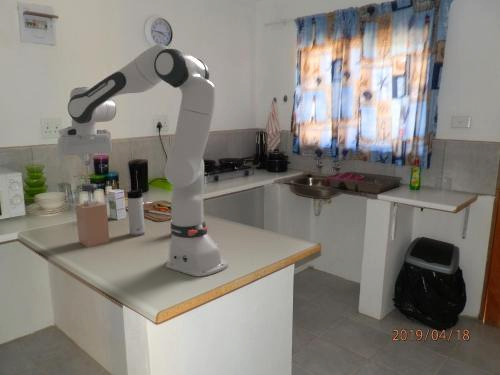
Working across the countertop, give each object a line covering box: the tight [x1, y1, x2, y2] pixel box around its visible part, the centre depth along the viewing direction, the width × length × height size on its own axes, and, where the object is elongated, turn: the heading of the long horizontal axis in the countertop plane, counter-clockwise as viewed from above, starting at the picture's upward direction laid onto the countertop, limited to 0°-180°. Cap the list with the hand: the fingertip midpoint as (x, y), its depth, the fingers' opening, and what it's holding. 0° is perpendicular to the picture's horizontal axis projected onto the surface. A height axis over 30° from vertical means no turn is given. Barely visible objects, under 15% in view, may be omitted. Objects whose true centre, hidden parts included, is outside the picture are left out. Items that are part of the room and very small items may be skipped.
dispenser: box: [75, 198, 111, 248], centre depth 157 cm, size 9×9×18 cm
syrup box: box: [107, 188, 127, 221], centre depth 195 cm, size 6×6×14 cm
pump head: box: [81, 183, 98, 202], centre depth 157 cm, size 9×6×12 cm, turn 44°
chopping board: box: [125, 200, 172, 223], centre depth 210 cm, size 45×27×3 cm, turn 44°
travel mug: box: [126, 189, 146, 237], centre depth 167 cm, size 6×7×20 cm
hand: (87, 165), depth 153 cm, fingers closed
